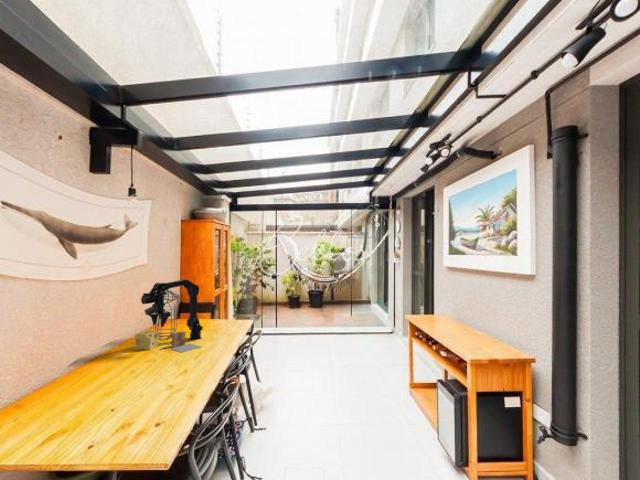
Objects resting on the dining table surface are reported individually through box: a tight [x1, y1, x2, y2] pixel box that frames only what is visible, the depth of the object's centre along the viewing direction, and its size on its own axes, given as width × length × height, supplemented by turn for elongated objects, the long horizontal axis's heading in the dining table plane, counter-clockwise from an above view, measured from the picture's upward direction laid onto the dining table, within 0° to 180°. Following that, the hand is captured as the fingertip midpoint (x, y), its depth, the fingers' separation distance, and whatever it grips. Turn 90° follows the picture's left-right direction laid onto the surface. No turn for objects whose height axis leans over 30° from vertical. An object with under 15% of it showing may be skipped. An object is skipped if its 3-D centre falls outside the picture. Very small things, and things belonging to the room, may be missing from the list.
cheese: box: [134, 330, 160, 351], centre depth 202 cm, size 10×11×10 cm
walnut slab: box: [171, 330, 186, 348], centre depth 207 cm, size 8×3×9 cm, turn 147°
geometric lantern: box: [154, 289, 181, 340], centre depth 227 cm, size 16×16×35 cm
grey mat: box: [171, 343, 201, 353], centre depth 202 cm, size 14×12×1 cm
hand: (158, 326), depth 201 cm, fingers open, 9 cm apart
